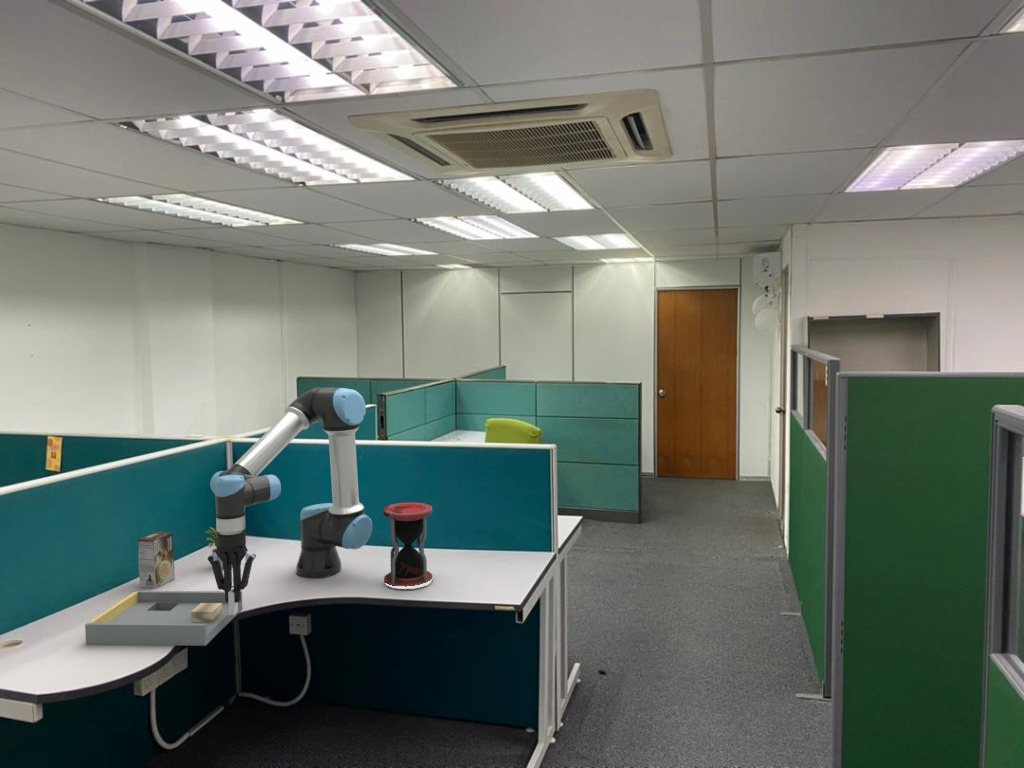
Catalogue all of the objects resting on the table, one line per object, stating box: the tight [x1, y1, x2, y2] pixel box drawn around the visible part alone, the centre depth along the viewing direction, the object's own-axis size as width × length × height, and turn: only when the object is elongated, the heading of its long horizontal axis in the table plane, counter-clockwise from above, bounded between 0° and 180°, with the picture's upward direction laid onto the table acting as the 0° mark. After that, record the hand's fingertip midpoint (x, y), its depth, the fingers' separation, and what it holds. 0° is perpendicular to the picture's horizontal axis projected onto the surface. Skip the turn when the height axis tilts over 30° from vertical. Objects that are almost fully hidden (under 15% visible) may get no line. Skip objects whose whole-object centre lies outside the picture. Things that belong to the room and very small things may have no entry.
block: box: [191, 603, 222, 622], centre depth 193 cm, size 6×6×3 cm
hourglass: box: [382, 502, 434, 587], centre depth 228 cm, size 16×16×25 cm
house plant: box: [205, 526, 224, 570], centre depth 241 cm, size 14×14×16 cm
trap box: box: [84, 590, 243, 647], centre depth 194 cm, size 32×24×6 cm
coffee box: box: [137, 531, 176, 589], centre depth 227 cm, size 9×6×16 cm
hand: (233, 612), depth 193 cm, fingers closed
